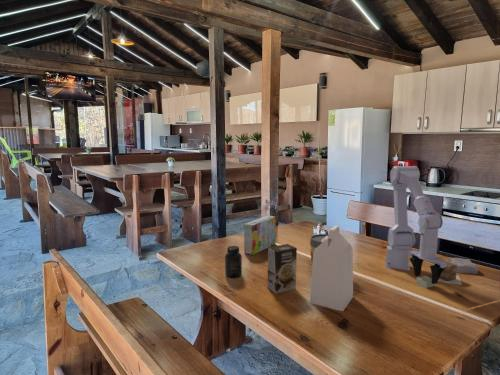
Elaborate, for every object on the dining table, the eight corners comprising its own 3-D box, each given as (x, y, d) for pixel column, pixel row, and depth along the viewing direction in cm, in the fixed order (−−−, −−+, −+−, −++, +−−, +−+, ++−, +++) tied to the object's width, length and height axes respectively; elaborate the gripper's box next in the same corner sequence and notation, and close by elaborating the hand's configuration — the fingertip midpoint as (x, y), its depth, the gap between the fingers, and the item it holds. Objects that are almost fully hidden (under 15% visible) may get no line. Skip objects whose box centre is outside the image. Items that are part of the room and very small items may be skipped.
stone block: (454, 278, 145) (480, 275, 143) (452, 267, 145) (479, 264, 143) (444, 268, 157) (468, 265, 154) (442, 258, 156) (467, 255, 154)
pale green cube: (426, 289, 131) (426, 282, 130) (416, 285, 135) (416, 277, 134) (434, 287, 132) (435, 280, 132) (424, 283, 136) (424, 275, 136)
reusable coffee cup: (345, 272, 146) (346, 238, 144) (329, 281, 137) (331, 245, 135) (319, 264, 155) (320, 232, 153) (303, 273, 146) (304, 238, 144)
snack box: (267, 242, 187) (267, 215, 185) (276, 244, 184) (276, 216, 182) (243, 253, 170) (243, 223, 168) (252, 255, 167) (252, 225, 165)
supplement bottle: (244, 273, 145) (244, 246, 143) (237, 280, 139) (237, 251, 137) (230, 271, 148) (229, 244, 146) (222, 277, 142) (221, 248, 140)
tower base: (446, 281, 136) (447, 274, 136) (435, 276, 141) (436, 269, 140) (456, 279, 138) (456, 272, 138) (444, 274, 143) (445, 267, 142)
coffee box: (275, 294, 127) (276, 251, 124) (267, 287, 132) (267, 246, 130) (296, 289, 131) (297, 247, 128) (287, 282, 137) (287, 243, 134)
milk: (342, 311, 114) (345, 234, 111) (309, 302, 121) (311, 229, 117) (353, 297, 125) (356, 226, 121) (322, 289, 131) (324, 221, 127)
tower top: (447, 274, 136) (448, 266, 135) (436, 269, 140) (437, 262, 140) (456, 272, 138) (457, 264, 137) (445, 267, 142) (445, 260, 142)
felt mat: (432, 281, 137) (432, 280, 137) (430, 272, 146) (430, 271, 146) (462, 286, 133) (462, 284, 133) (458, 276, 142) (458, 275, 142)
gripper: (453, 249, 126) (450, 285, 128) (420, 238, 139) (418, 271, 141) (439, 251, 123) (436, 288, 125) (406, 240, 136) (404, 273, 138)
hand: (425, 279), depth 133 cm, fingers open, 7 cm apart
